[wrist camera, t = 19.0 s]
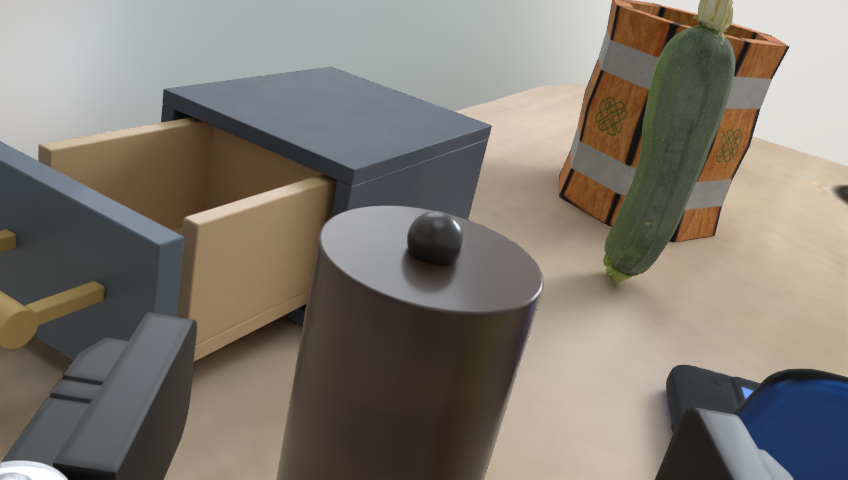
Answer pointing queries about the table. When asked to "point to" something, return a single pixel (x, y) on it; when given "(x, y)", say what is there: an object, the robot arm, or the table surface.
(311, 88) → the cabinet
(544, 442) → the table surface
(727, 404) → the game console
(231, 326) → the drawer
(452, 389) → the pepper mill
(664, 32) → the mug
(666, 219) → the vegetable
